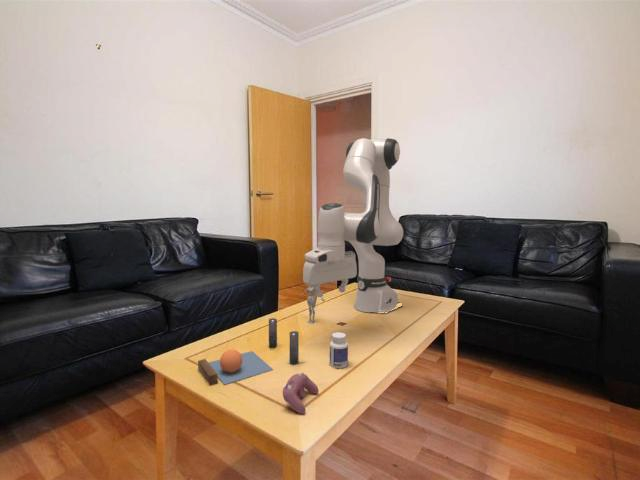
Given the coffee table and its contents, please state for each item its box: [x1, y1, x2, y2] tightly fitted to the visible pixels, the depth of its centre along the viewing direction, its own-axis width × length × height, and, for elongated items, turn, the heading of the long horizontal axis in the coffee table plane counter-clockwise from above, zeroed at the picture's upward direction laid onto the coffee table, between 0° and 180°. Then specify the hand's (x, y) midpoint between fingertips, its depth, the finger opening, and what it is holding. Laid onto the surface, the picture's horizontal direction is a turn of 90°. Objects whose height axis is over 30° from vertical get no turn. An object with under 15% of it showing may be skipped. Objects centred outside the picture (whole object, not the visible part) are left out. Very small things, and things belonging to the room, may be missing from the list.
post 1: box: [268, 317, 278, 349], centre depth 110 cm, size 3×3×9 cm
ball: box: [219, 348, 242, 373], centre depth 94 cm, size 6×6×6 cm
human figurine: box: [300, 285, 326, 325], centre depth 132 cm, size 12×4×18 cm, turn 48°
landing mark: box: [207, 350, 274, 386], centre depth 97 cm, size 14×14×1 cm
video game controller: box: [282, 372, 319, 415], centre depth 81 cm, size 10×5×7 cm, turn 160°
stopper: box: [197, 358, 219, 386], centre depth 92 cm, size 2×10×2 cm, turn 36°
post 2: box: [289, 330, 300, 366], centre depth 99 cm, size 3×3×9 cm
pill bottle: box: [329, 332, 349, 369], centre depth 99 cm, size 5×5×9 cm
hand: (331, 294), depth 115 cm, fingers open, 8 cm apart
